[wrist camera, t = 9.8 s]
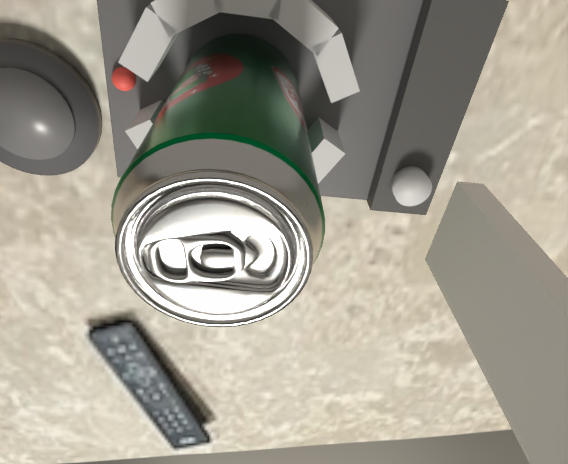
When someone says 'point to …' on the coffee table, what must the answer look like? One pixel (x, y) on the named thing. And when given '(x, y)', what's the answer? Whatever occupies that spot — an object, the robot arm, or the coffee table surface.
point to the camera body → (321, 79)
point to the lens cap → (44, 111)
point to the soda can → (222, 191)
